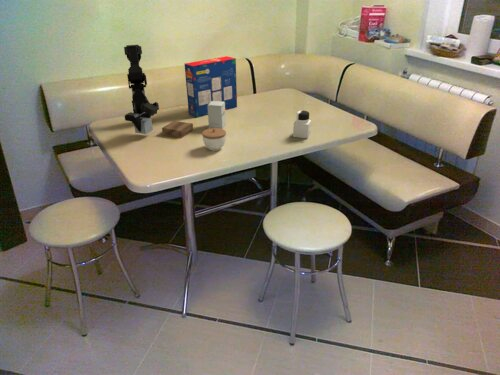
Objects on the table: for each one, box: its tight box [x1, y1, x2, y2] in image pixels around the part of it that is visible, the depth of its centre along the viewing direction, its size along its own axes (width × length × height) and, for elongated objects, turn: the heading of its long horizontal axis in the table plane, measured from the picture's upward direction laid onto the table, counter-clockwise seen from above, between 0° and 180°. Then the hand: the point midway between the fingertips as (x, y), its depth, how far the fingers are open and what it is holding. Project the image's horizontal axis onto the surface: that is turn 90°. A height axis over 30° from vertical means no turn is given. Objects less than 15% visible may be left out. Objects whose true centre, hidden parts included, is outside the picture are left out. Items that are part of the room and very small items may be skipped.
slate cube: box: [133, 117, 154, 135], centre depth 200 cm, size 6×6×6 cm
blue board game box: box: [184, 55, 238, 119], centre depth 229 cm, size 28×8×28 cm, turn 129°
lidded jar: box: [201, 128, 227, 152], centre depth 187 cm, size 11×11×9 cm
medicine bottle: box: [292, 110, 312, 139], centre depth 198 cm, size 7×7×12 cm
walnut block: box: [161, 120, 194, 139], centre depth 206 cm, size 11×11×4 cm
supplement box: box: [207, 101, 226, 130], centre depth 210 cm, size 7×7×13 cm
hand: (143, 129), depth 201 cm, fingers closed on slate cube, 6 cm apart
